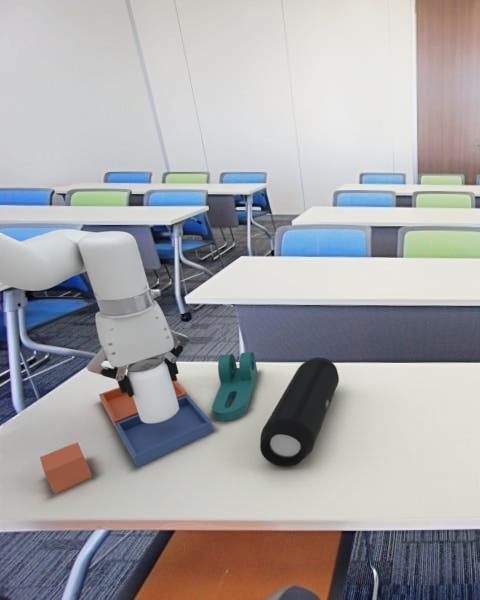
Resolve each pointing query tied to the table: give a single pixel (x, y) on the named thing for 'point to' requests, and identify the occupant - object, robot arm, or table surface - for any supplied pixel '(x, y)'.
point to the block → (65, 467)
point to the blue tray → (163, 432)
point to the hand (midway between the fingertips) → (151, 385)
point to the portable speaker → (299, 413)
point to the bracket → (234, 386)
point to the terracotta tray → (126, 403)
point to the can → (152, 390)
